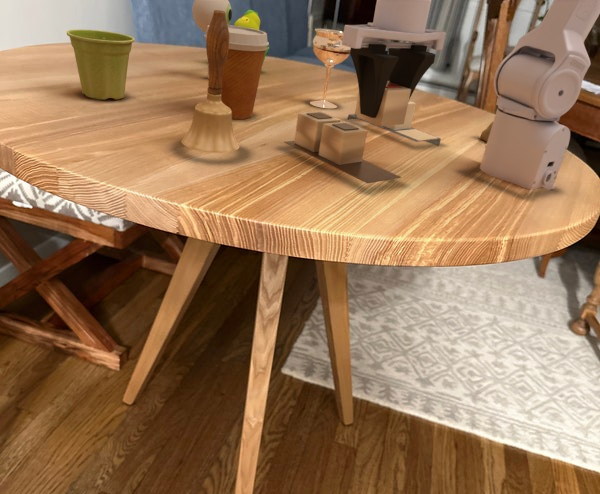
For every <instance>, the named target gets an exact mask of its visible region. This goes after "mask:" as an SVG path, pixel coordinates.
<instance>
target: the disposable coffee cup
mask: <svg viewBox="0 0 600 494" xmlns="http://www.w3.org/2000/svg"><path fill="white" fill-rule="evenodd" d="M208 28H209V25H208V27H207V30H206V32H205V33H204V34H203V37H204V39H205V43H206V40H207V32H208ZM228 30H229V49H228V55H227V59H226V62H225V64H224V68H223V73H222V88H221V89H222V93H221V101H222V103H223V104H225V105H226V106H227V107H229V108H230V109H231V111H232V120H243V119H244V120H245V119H250V118H251V117H252V116H253V113H254V108H255V103H256V98H257V94H258V88H259V83H260V79H261V74H262V69H263V65H262V64H264V62H263V60H264V61H265V59H264V55H265V50H267V47H269V46H270V42H269V41H268V33H267V32H265V31H263V30H260V29H259V30H256V29H252V28H246V27H240V26H234V25H231V24H229V25H228ZM208 68H209V62H208V61H207V69H208Z"/></svg>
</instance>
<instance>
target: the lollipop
mask: <svg viewBox="0 0 600 494" xmlns="http://www.w3.org/2000/svg"><path fill="white" fill-rule="evenodd" d="M191 9H192V10H191V12H192V18H193V21H194V23H195V25H196V26H197V27H198V28H199V30H201V31H202V32H204V33H206V30H207V27H208V25H210V23H211V20H212V17H213V13H214V10H220V11H225V13H226V21H227V25H231V22H232V18H233V10H232V6H231V3H230V1H229V0H194V1H193V4H192V8H191ZM207 80H209V68H208V67H207Z"/></svg>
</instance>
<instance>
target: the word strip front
mask: <svg viewBox="0 0 600 494" xmlns="http://www.w3.org/2000/svg"><path fill="white" fill-rule="evenodd" d="M368 132H369V131H368V130H366V129H365V128H362V127H359V126H357V125H354V124H352V123H350V122H347V121H341V119H340V118H337V117H335V116H333V115H330V114H328V113H325V112H323V111H307V112H306V111H305V112H297V120H296V126H295V135H294V140H288V141H284V143H285V144H287V145H289V146H291V147H293V148H294V149H297V150H299V151H301V152H303V153H305V154H307V155H309V156H311V157H313V158H314V159H317V160H319V161H321V162H323V163H325V164H327V165H329V166H331V167H334V168H336V169H337V170H339V171H341V172H343V173H346V174H347V175H349V176H352V177H354V178H356V179H358V180H360V181H361V182H364V183H366V184H373V183H379V182H383V181H389V180H395V179H401V178H402V177H401V176H400V175H398V174H396V173H393V172H391V171H389V170H387V169H385V168H383V167H381V166H378V165H376V164H374V163H372V162H370V161H367V160H365V159H363V158H364V152H365V148H366V142H367V137H368Z"/></svg>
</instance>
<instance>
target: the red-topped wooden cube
mask: <svg viewBox="0 0 600 494" xmlns="http://www.w3.org/2000/svg"><path fill="white" fill-rule="evenodd" d="M410 93H411V89H409V88H406V87H403V86H400V85H397V84H394V83H390V82H389V81H388V82H387V84H386V87H385V90H384V94H383V98H382V102H381V105H380V108H379V111H378V114H377V116H376V118H371V117H368V116H365V115H363V114H360V101H359V106H358V112H357V117H358V118H360V119H363V120H365V121H368V122H370V123H373V124H375V125H378V126H391V125H401V124H404V120H405V116H406V111H407V107H408V102H409V101H410V100H409V97H410ZM410 98H411V97H410ZM360 119H359V120H360ZM363 120H362V121H363ZM365 121H364V122H365ZM368 122H367V123H368ZM370 123H369V124H370ZM373 124H372V125H373ZM375 125H374V126H375ZM378 126H377V127H378Z"/></svg>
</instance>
